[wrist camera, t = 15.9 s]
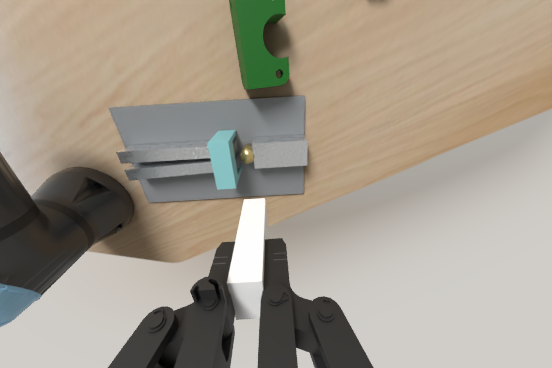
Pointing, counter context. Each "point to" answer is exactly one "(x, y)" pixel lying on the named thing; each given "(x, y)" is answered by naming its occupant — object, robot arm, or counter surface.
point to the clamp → (257, 42)
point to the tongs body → (260, 151)
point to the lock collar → (224, 159)
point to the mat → (202, 127)
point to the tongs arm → (171, 168)
